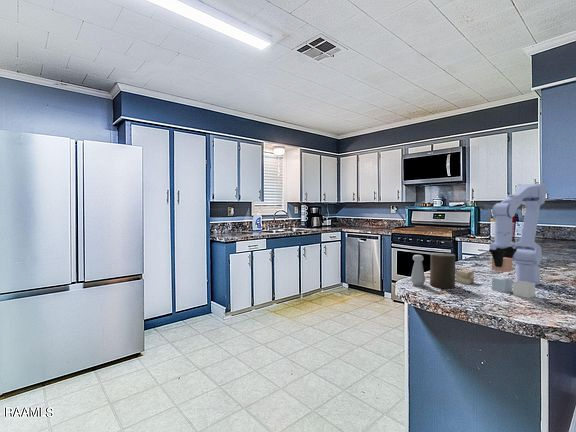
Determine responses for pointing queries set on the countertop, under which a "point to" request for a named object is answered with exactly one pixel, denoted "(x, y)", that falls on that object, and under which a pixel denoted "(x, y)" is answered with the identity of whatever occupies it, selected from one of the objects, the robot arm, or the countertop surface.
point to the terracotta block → (503, 265)
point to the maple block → (465, 276)
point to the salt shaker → (418, 271)
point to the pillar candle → (442, 270)
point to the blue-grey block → (502, 284)
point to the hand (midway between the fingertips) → (502, 266)
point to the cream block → (524, 289)
